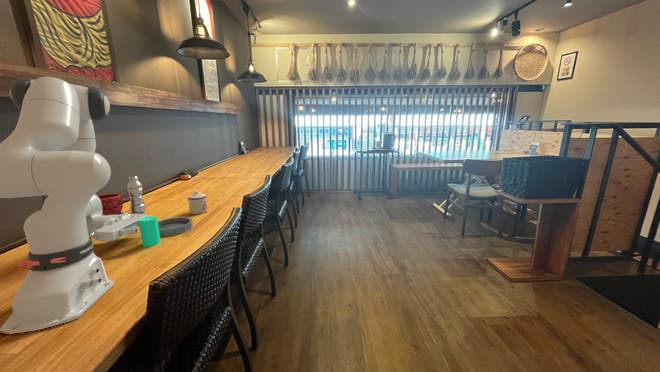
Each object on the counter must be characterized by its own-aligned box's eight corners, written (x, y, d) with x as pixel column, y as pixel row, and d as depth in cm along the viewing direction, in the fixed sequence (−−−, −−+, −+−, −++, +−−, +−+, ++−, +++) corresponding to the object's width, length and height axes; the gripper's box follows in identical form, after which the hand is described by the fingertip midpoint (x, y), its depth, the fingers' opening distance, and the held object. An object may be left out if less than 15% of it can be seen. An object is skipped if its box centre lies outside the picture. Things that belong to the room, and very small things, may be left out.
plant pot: (131, 215, 135) (128, 193, 132) (104, 224, 123) (100, 200, 120) (112, 213, 138) (108, 192, 136) (84, 222, 126) (79, 198, 123)
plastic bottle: (133, 211, 142) (127, 175, 137) (148, 210, 144) (142, 175, 139) (128, 215, 136) (122, 177, 131) (143, 214, 138) (137, 177, 133)
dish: (190, 233, 113) (189, 226, 112) (148, 238, 107) (147, 231, 107) (194, 221, 127) (193, 215, 126) (157, 225, 121) (156, 219, 121)
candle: (151, 247, 99) (147, 217, 97) (138, 246, 100) (133, 216, 98) (164, 241, 105) (160, 212, 102) (152, 239, 106) (147, 211, 103)
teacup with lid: (207, 213, 139) (205, 192, 137) (188, 215, 136) (186, 194, 133) (208, 207, 150) (206, 187, 147) (190, 209, 146) (187, 189, 144)
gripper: (82, 229, 90) (122, 228, 90) (126, 211, 110) (159, 210, 110) (86, 245, 91) (125, 245, 91) (129, 225, 111) (161, 224, 111)
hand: (144, 226), depth 101 cm, fingers open, 8 cm apart
